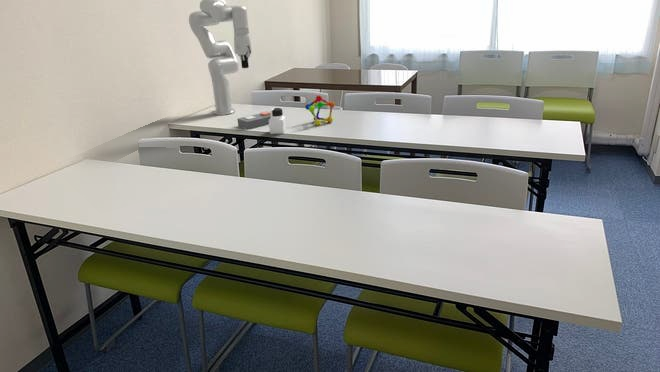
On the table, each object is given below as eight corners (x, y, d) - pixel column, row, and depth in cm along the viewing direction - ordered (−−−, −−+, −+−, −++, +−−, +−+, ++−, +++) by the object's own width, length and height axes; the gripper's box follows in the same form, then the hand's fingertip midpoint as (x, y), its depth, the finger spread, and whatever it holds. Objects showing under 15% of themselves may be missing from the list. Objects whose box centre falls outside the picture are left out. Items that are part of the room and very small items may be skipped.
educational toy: (319, 119, 270) (320, 92, 265) (336, 123, 261) (337, 95, 256) (298, 123, 259) (298, 94, 254) (315, 127, 251) (315, 98, 246)
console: (238, 125, 261) (237, 118, 260) (269, 118, 273) (268, 111, 271) (248, 129, 254) (247, 121, 253) (279, 121, 266) (278, 114, 264)
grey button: (245, 124, 261) (244, 117, 259) (252, 123, 263) (251, 115, 262) (249, 126, 257) (248, 118, 256) (256, 124, 260) (256, 117, 259)
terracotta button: (260, 119, 266) (260, 112, 265) (267, 118, 269) (267, 111, 267) (265, 121, 263) (264, 114, 262) (272, 119, 266) (271, 112, 264)
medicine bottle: (286, 129, 250) (284, 106, 246) (283, 133, 244) (281, 110, 239) (272, 129, 251) (270, 107, 246) (269, 133, 244) (267, 110, 240)
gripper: (227, 31, 254) (232, 67, 261) (242, 33, 243) (246, 70, 251) (240, 30, 259) (244, 65, 266) (255, 31, 248) (259, 68, 255)
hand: (245, 67), depth 258 cm, fingers closed
